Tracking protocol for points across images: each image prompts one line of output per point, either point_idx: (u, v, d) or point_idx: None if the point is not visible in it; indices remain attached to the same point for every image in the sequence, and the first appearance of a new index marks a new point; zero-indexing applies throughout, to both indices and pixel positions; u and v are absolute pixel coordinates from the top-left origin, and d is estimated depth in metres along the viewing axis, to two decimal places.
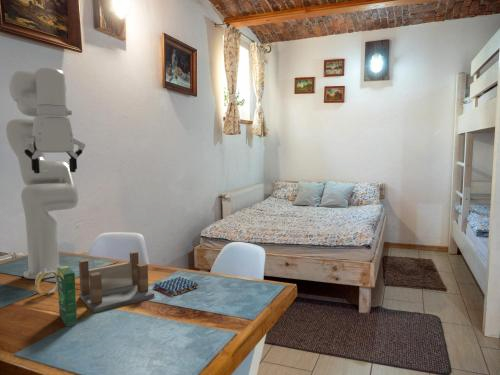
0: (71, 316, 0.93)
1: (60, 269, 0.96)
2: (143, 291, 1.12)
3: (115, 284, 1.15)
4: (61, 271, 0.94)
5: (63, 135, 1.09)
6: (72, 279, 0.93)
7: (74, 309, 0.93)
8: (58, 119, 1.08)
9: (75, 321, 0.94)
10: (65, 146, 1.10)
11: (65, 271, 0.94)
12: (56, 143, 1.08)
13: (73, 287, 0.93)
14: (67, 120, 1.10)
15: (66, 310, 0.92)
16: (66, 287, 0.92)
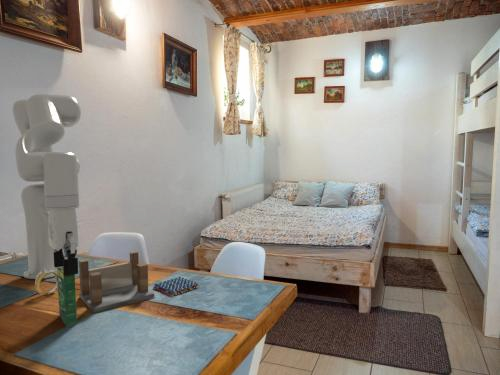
0: (71, 316, 0.93)
1: (60, 269, 0.96)
2: (143, 291, 1.12)
3: (115, 284, 1.15)
4: (61, 271, 0.94)
5: None
6: (73, 279, 0.93)
7: (74, 309, 0.93)
8: None
9: (75, 321, 0.94)
10: None
11: None
12: None
13: (73, 287, 0.93)
14: None
15: (66, 310, 0.92)
16: (66, 288, 0.92)
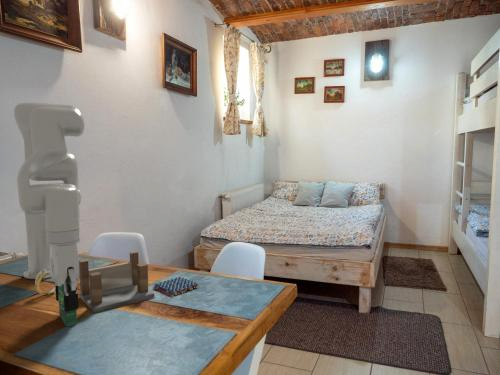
0: (71, 316, 0.93)
1: None
2: (143, 291, 1.12)
3: (115, 284, 1.15)
4: None
5: None
6: None
7: None
8: None
9: (75, 321, 0.94)
10: None
11: None
12: None
13: None
14: None
15: None
16: None
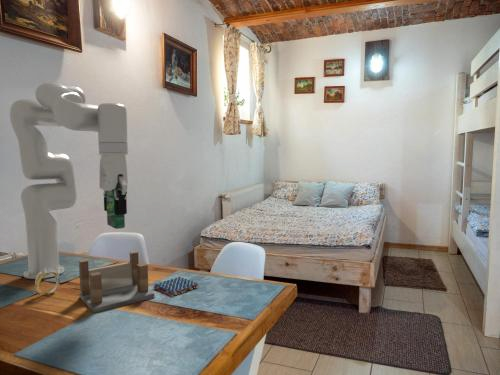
0: (120, 220, 1.03)
1: None
2: (143, 291, 1.12)
3: (115, 284, 1.15)
4: None
5: None
6: None
7: (123, 214, 1.03)
8: None
9: (123, 225, 1.04)
10: None
11: None
12: None
13: None
14: None
15: None
16: None
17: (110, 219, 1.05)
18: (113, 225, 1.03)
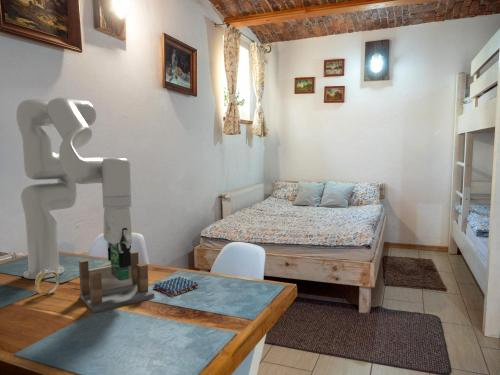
0: (124, 272, 1.05)
1: None
2: (143, 291, 1.12)
3: (115, 284, 1.15)
4: None
5: None
6: None
7: None
8: None
9: (127, 277, 1.05)
10: None
11: None
12: None
13: None
14: None
15: None
16: None
17: (114, 270, 1.07)
18: (117, 277, 1.05)
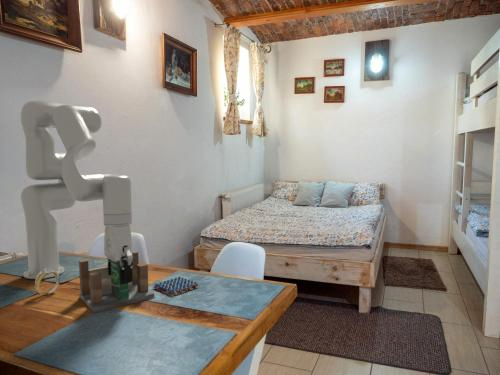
0: (124, 292, 1.06)
1: None
2: (143, 291, 1.12)
3: None
4: None
5: None
6: None
7: (127, 286, 1.06)
8: None
9: (127, 296, 1.06)
10: None
11: None
12: None
13: None
14: None
15: (120, 286, 1.05)
16: None
17: (114, 289, 1.08)
18: (117, 296, 1.06)
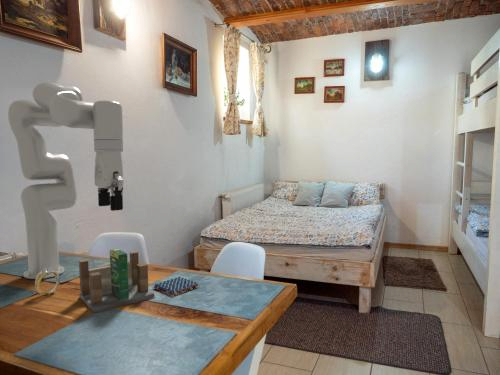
0: (124, 292, 1.06)
1: (113, 251, 1.08)
2: (143, 291, 1.12)
3: None
4: (115, 252, 1.07)
5: None
6: (125, 259, 1.05)
7: (127, 286, 1.06)
8: None
9: (127, 296, 1.06)
10: None
11: (119, 252, 1.06)
12: None
13: (126, 266, 1.06)
14: None
15: (120, 286, 1.05)
16: (120, 266, 1.05)
17: (114, 289, 1.08)
18: (117, 296, 1.06)
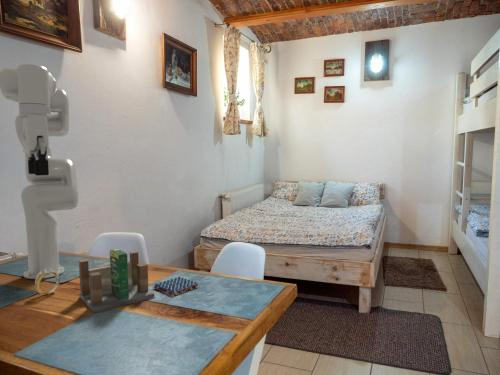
0: (124, 292, 1.06)
1: (113, 251, 1.08)
2: (143, 291, 1.12)
3: None
4: (115, 252, 1.07)
5: None
6: (125, 259, 1.05)
7: (127, 286, 1.06)
8: None
9: (127, 296, 1.06)
10: None
11: (119, 252, 1.06)
12: None
13: (126, 266, 1.06)
14: None
15: (120, 286, 1.05)
16: (120, 266, 1.05)
17: (114, 289, 1.08)
18: (117, 296, 1.06)
